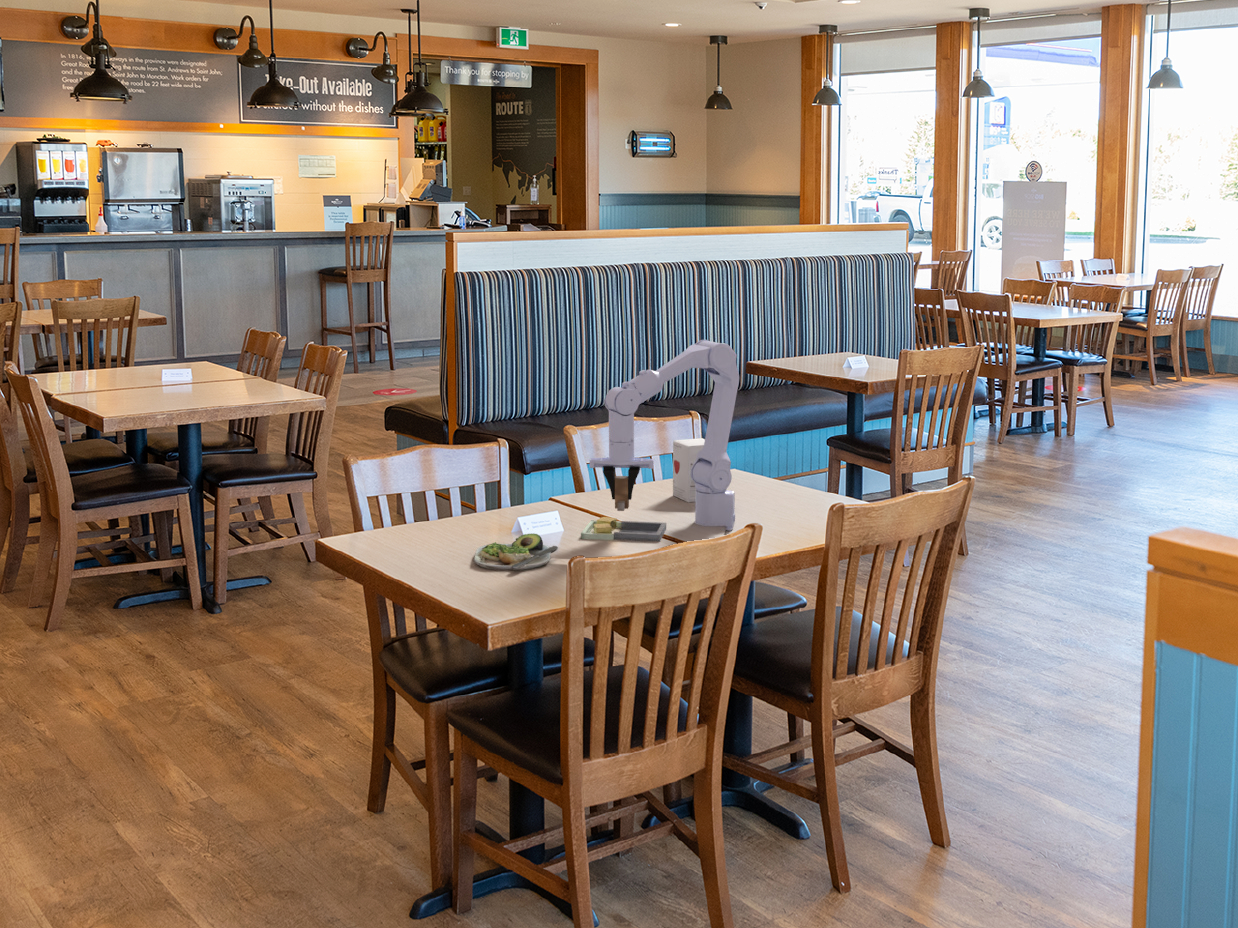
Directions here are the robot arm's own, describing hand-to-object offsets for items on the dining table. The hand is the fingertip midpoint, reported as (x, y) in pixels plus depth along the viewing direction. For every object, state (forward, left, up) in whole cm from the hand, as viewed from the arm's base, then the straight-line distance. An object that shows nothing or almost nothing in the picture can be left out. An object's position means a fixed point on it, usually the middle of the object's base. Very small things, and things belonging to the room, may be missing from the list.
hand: (621, 498), depth 281 cm
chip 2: (+4, +3, -8) cm, 10 cm away
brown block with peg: (0, 0, -2) cm, 2 cm away
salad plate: (+20, +21, -10) cm, 31 cm away
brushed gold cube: (+4, -3, -8) cm, 10 cm away
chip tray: (+5, 0, -9) cm, 10 cm away
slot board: (-4, 0, -9) cm, 10 cm away
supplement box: (-12, -42, -10) cm, 45 cm away
